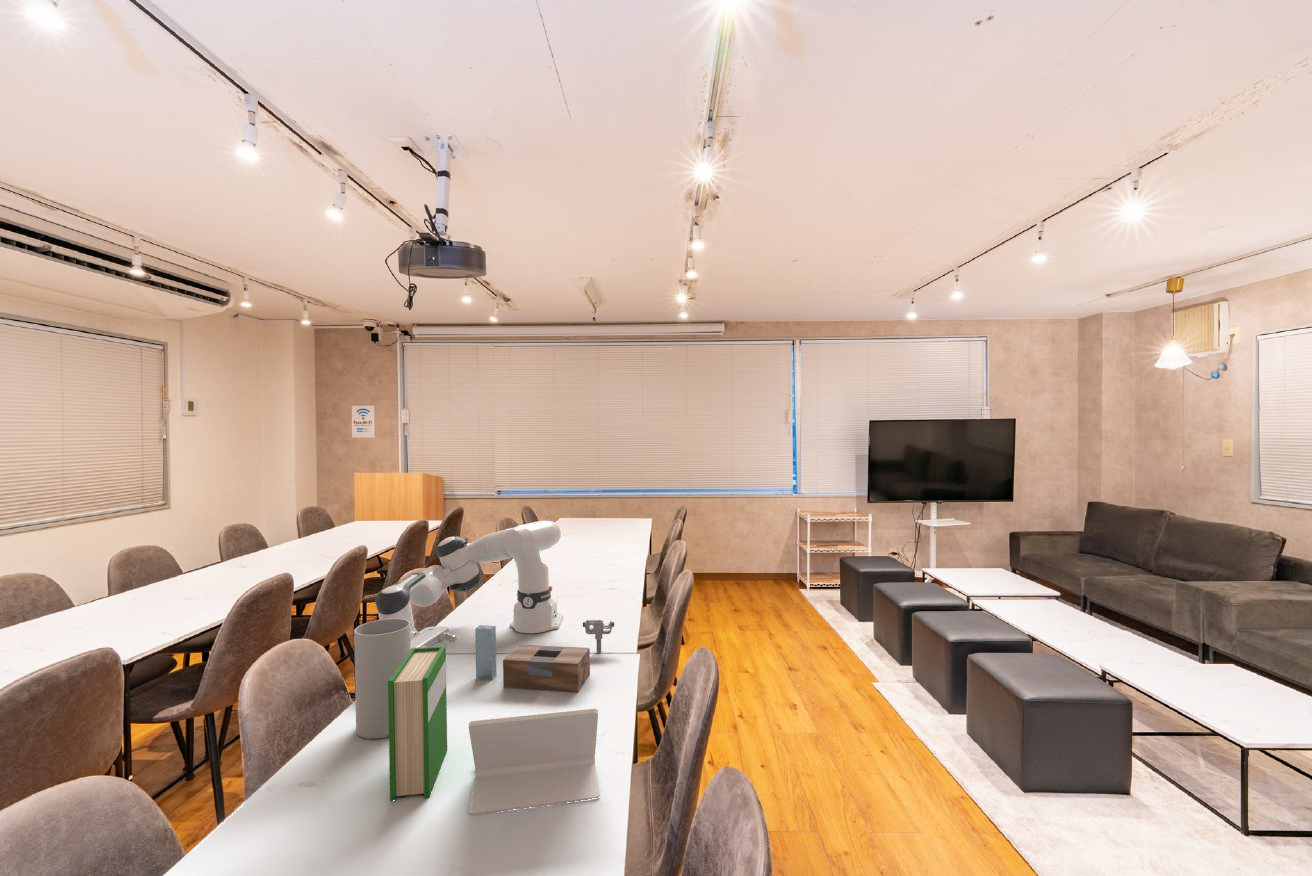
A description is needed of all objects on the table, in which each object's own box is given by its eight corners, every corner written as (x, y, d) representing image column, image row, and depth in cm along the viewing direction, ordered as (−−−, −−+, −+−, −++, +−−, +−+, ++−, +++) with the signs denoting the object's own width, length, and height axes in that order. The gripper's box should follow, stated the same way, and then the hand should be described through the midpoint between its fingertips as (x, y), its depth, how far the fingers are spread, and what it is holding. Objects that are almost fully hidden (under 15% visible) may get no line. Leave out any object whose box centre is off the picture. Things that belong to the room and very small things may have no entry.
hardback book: (429, 798, 116) (427, 678, 116) (390, 802, 115) (387, 680, 114) (447, 750, 133) (445, 645, 133) (413, 753, 132) (411, 648, 132)
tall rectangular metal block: (480, 675, 175) (479, 625, 174) (496, 675, 174) (495, 625, 174) (476, 679, 172) (475, 628, 171) (492, 680, 171) (491, 629, 171)
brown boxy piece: (519, 670, 177) (519, 644, 177) (589, 674, 174) (589, 647, 174) (503, 687, 165) (502, 659, 165) (578, 692, 162) (577, 663, 162)
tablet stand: (600, 800, 115) (599, 714, 115) (468, 818, 110) (466, 728, 110) (592, 751, 133) (591, 676, 132) (478, 764, 128) (477, 687, 128)
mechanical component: (613, 653, 190) (613, 622, 190) (582, 653, 190) (582, 623, 190) (614, 649, 193) (614, 619, 193) (584, 650, 193) (583, 620, 193)
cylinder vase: (400, 710, 153) (399, 615, 152) (420, 727, 144) (418, 626, 144) (348, 727, 144) (347, 626, 144) (366, 746, 135) (364, 639, 135)
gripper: (424, 640, 187) (464, 642, 185) (384, 665, 167) (429, 668, 165) (423, 620, 187) (464, 622, 185) (384, 643, 167) (428, 645, 164)
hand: (447, 644), depth 174 cm, fingers open, 8 cm apart
